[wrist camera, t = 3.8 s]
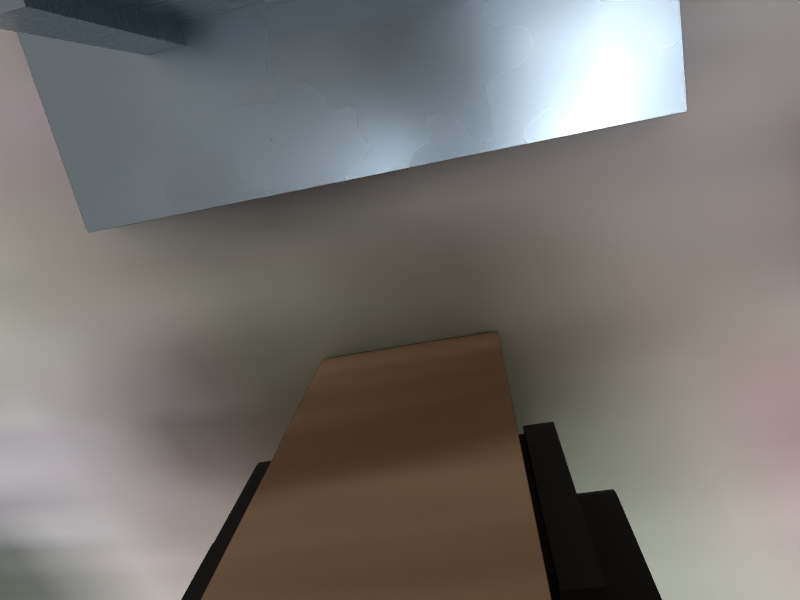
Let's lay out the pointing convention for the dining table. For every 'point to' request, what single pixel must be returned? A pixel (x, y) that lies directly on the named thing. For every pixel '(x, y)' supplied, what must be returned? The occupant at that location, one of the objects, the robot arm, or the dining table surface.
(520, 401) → the dining table surface
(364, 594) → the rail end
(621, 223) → the dining table surface
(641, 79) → the cup bracket
